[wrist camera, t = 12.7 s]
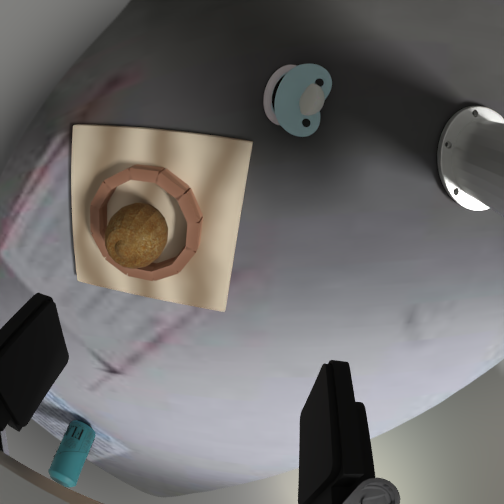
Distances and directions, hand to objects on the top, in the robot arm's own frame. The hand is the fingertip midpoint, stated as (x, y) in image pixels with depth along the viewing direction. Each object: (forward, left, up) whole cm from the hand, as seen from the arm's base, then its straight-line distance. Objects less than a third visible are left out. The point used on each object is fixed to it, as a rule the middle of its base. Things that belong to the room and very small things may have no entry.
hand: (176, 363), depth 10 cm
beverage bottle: (+26, +56, -26) cm, 67 cm away
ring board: (+9, +6, -26) cm, 28 cm away
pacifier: (-4, -9, -26) cm, 28 cm away
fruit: (+9, +6, -25) cm, 27 cm away
